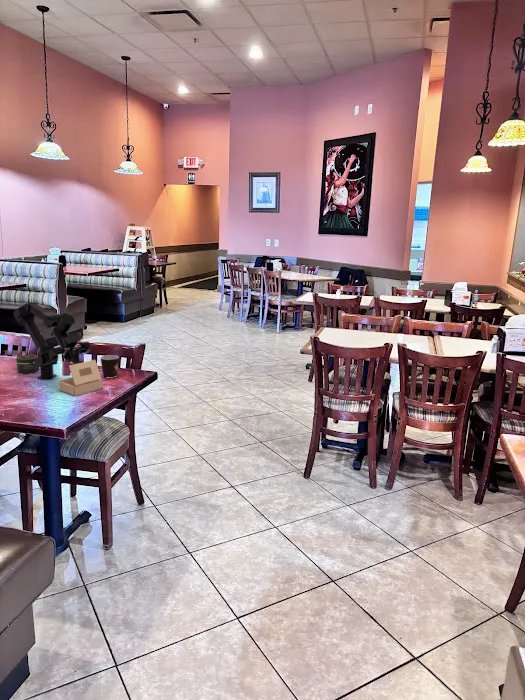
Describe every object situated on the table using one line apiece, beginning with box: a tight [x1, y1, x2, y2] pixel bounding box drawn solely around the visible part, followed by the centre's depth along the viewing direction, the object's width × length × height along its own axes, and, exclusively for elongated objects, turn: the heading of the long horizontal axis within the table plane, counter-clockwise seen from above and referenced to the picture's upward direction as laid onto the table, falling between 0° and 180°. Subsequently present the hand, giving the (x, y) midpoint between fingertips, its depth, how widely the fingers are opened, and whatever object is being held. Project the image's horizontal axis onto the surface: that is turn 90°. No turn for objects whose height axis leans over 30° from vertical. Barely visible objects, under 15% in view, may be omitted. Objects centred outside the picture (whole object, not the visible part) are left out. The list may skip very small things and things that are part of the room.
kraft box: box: [58, 377, 104, 397], centre depth 226 cm, size 12×15×4 cm
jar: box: [15, 354, 40, 375], centre depth 248 cm, size 10×10×8 cm
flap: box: [68, 359, 102, 385], centre depth 222 cm, size 1×13×9 cm, turn 144°
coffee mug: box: [100, 354, 120, 378], centre depth 246 cm, size 12×9×10 cm
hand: (78, 365), depth 224 cm, fingers closed
